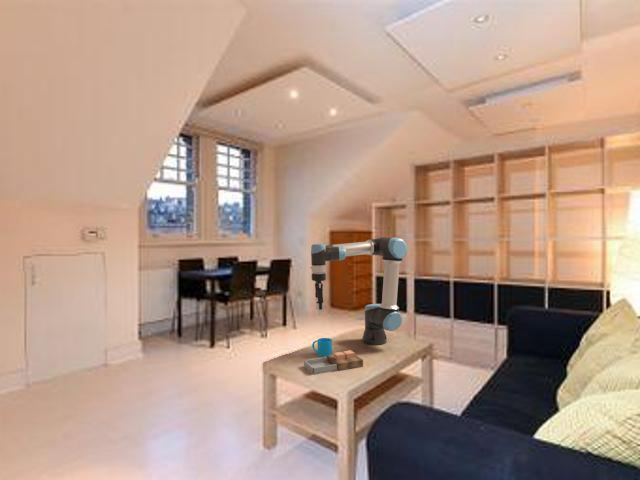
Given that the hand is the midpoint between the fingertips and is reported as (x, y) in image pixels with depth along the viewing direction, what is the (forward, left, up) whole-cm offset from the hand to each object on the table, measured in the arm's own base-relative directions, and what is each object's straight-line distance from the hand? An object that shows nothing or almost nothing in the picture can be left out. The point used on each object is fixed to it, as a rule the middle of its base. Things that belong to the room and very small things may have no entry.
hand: (319, 312), depth 211 cm
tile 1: (-6, +11, -22) cm, 26 cm away
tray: (+5, +11, -26) cm, 28 cm away
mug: (-5, -9, -26) cm, 28 cm away
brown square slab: (-9, +11, -26) cm, 30 cm away
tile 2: (-12, +11, -22) cm, 28 cm away
